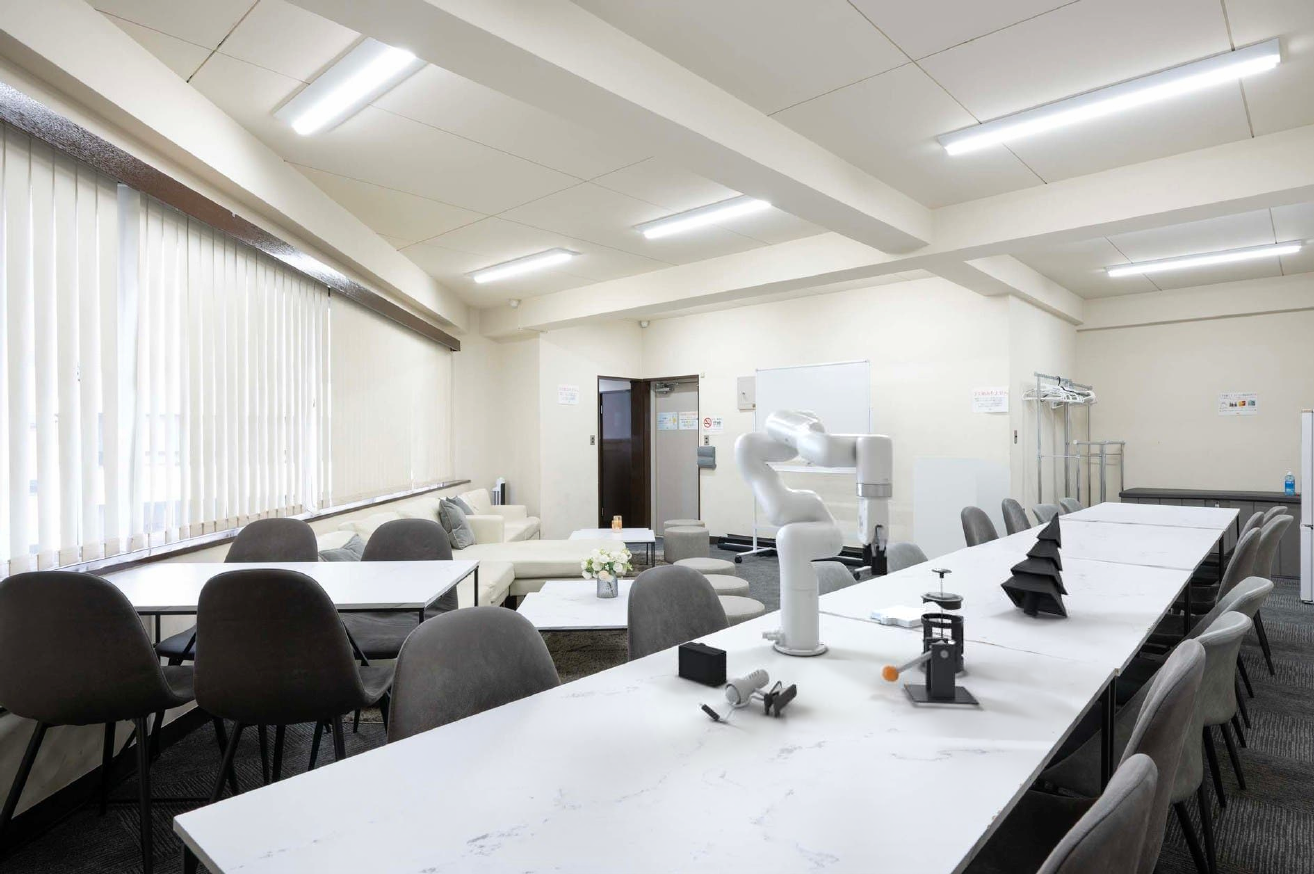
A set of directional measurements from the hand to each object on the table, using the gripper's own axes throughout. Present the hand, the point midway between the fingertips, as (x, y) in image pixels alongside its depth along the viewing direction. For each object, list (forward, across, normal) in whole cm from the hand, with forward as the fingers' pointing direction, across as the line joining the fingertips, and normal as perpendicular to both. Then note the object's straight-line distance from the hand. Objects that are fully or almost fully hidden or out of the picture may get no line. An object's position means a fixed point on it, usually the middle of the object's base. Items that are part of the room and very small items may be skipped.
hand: (874, 570), depth 148 cm
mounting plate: (+24, -53, +19) cm, 61 cm away
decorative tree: (+24, -65, +62) cm, 93 cm away
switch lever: (+18, +9, +7) cm, 21 cm away
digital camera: (+24, +2, -37) cm, 44 cm away
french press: (+24, -9, +17) cm, 31 cm away
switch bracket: (+24, +9, +11) cm, 28 cm away
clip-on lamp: (+24, +19, -28) cm, 42 cm away
